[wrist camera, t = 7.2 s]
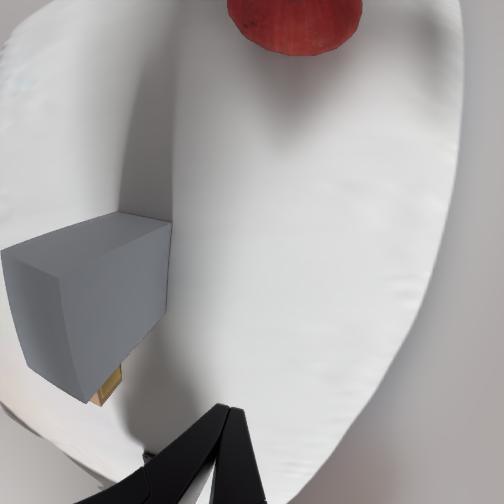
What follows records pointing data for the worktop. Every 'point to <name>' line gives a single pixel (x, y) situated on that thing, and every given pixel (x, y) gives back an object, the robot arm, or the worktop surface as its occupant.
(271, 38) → the onion
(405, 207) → the worktop surface
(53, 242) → the grey block
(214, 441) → the robot arm
